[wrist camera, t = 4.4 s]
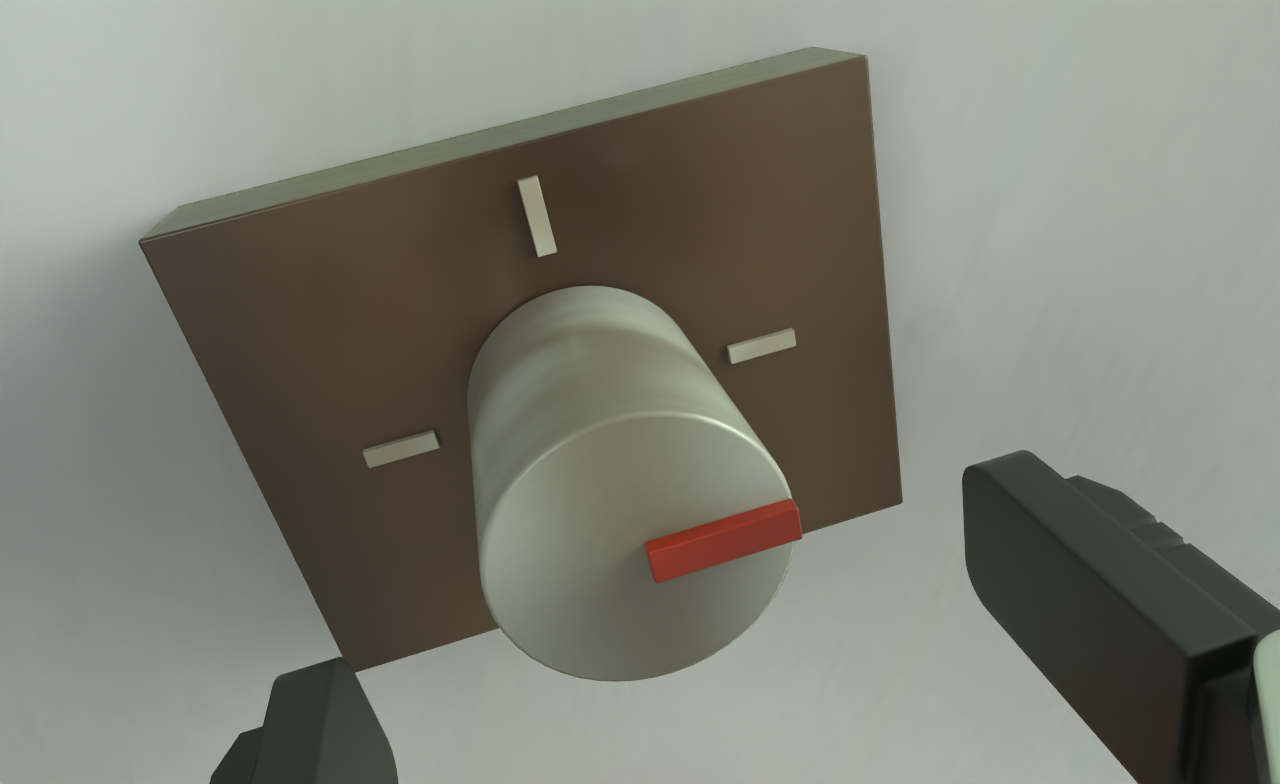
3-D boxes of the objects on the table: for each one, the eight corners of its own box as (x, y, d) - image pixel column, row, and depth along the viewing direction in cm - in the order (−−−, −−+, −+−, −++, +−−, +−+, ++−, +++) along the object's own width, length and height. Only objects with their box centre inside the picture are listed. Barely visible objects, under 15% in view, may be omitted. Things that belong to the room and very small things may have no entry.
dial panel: (360, 602, 21) (350, 680, 19) (176, 206, 16) (132, 242, 14) (857, 452, 22) (907, 507, 20) (814, 45, 18) (872, 55, 15)
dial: (504, 521, 18) (531, 736, 13) (435, 321, 16) (435, 482, 11) (714, 459, 18) (821, 642, 13) (674, 256, 16) (783, 381, 11)
